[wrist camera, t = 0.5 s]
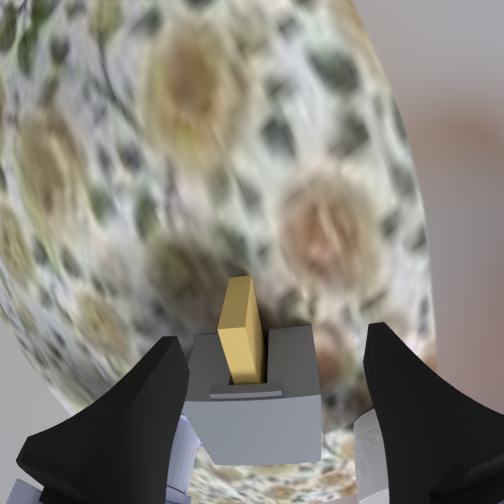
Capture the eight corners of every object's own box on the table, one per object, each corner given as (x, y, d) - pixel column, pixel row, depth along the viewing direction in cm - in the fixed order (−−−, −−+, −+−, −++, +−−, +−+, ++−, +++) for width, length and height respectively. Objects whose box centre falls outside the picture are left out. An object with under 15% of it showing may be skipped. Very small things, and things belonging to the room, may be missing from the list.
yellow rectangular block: (253, 375, 25) (249, 427, 20) (229, 277, 21) (217, 329, 16) (270, 374, 25) (269, 426, 20) (251, 275, 21) (245, 327, 16)
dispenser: (224, 407, 28) (215, 464, 22) (194, 329, 23) (173, 395, 17) (315, 401, 27) (320, 460, 21) (310, 318, 22) (320, 388, 16)
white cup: (337, 419, 28) (347, 500, 19) (405, 389, 26) (431, 470, 17) (359, 443, 31) (369, 511, 22) (418, 419, 29) (438, 486, 20)
